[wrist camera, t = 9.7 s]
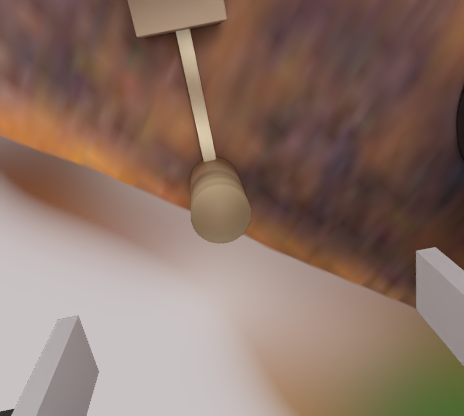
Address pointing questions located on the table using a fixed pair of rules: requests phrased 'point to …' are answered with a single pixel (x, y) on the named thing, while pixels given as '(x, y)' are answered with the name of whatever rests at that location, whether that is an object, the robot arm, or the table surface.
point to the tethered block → (199, 118)
